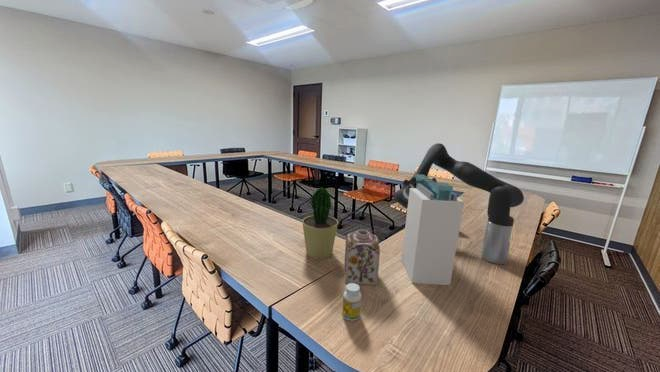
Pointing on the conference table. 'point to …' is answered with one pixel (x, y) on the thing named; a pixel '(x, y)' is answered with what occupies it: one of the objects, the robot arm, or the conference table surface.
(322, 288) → the conference table surface
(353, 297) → the supplement bottle
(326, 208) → the potted cactus
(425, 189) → the tall white pedestal box
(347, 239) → the decorative jar
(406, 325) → the conference table surface
